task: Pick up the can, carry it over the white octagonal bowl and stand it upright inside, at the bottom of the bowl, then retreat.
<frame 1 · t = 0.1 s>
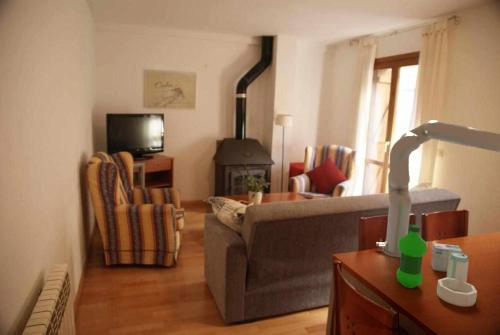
plastic bottle: (408, 285, 139), on the table
can: (455, 282, 142), on the table
light bulb box: (444, 269, 153), on the table
white octagonal bowl: (455, 297, 130), on the table
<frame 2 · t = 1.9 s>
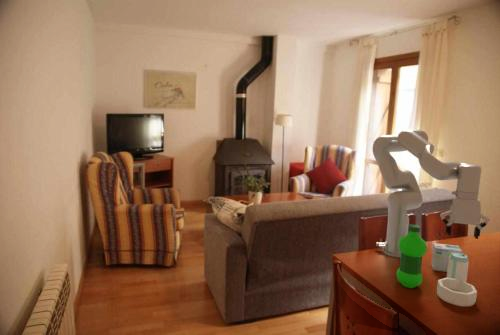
hand: (462, 236, 138), 20 cm above the table, fingers open, 9 cm apart
nothing on the table moved.
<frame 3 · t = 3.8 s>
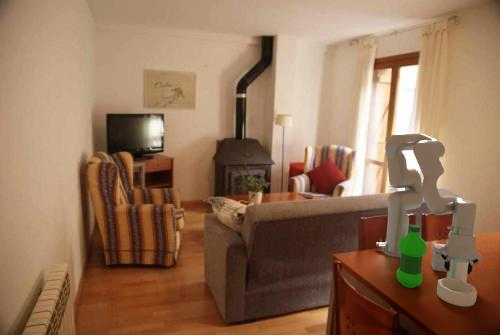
hand: (457, 271, 141), 5 cm above the table, fingers closed on can, 7 cm apart
can: (455, 282, 142), on the table, touching gripper
everything else where it was.
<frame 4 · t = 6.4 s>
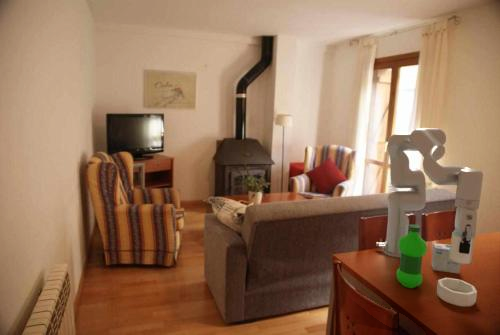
hand: (461, 248, 127), 20 cm above the table, fingers closed on can, 7 cm apart
can: (459, 261, 127), point 14 cm above the table, touching gripper
everything else where it was.
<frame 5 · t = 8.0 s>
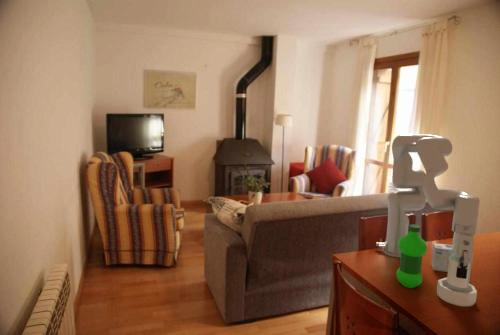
hand: (458, 272, 128), 10 cm above the table, fingers closed on can, 7 cm apart
can: (457, 285, 129), point 5 cm above the table, touching gripper
everything else where it was.
when the fingers open (7 cm above the table, at t = 9.2 s): can stays where it is, resting on white octagonal bowl.
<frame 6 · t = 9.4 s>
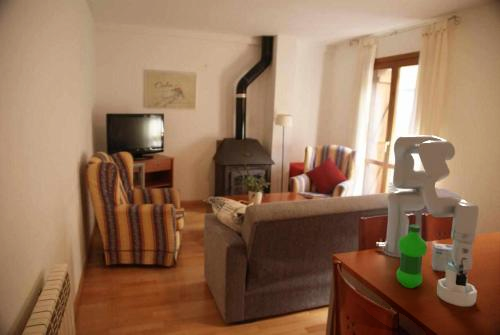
hand: (457, 279, 128), 7 cm above the table, fingers open, 8 cm apart
can: (455, 294, 130), point 1 cm above the table, touching white octagonal bowl
everything else where it was.
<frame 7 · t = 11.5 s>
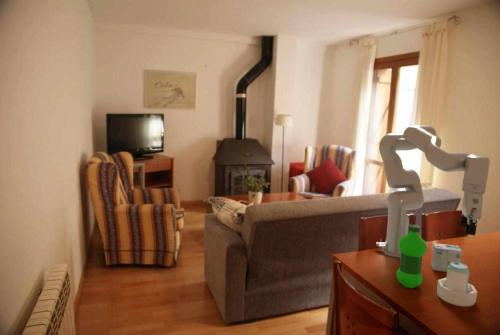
hand: (467, 230, 133), 24 cm above the table, fingers open, 9 cm apart
nothing on the table moved.
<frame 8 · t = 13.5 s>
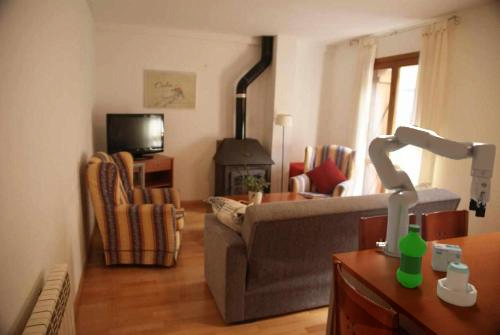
hand: (476, 213, 142), 28 cm above the table, fingers open, 9 cm apart
nothing on the table moved.
at the end: can 0.1 cm from the white octagonal bowl (horizontally); can tilted 0°; can point 0.9 cm above the table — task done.
